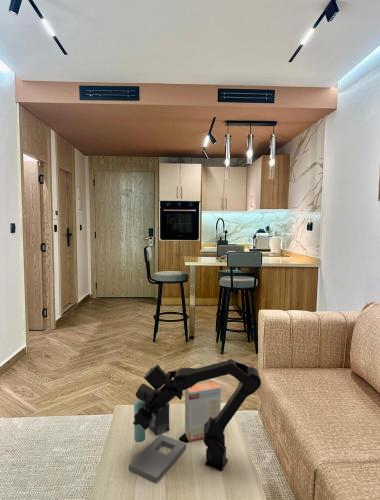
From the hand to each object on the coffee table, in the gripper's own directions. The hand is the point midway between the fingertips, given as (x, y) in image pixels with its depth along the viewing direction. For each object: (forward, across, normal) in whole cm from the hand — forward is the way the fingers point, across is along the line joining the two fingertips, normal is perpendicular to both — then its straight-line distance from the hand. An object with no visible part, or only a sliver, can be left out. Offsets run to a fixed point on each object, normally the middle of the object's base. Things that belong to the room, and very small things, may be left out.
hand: (136, 420), depth 125 cm
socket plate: (+3, +1, +16) cm, 16 cm away
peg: (+4, 0, +6) cm, 7 cm away
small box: (+9, -18, +10) cm, 23 cm away
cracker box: (-6, -18, +25) cm, 31 cm away
